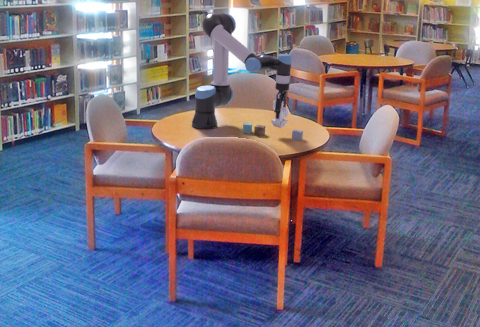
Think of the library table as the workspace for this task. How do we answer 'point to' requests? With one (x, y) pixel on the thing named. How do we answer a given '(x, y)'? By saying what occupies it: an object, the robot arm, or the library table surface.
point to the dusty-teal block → (247, 127)
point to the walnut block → (259, 130)
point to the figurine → (282, 121)
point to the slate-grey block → (297, 135)
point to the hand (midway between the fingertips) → (279, 122)
